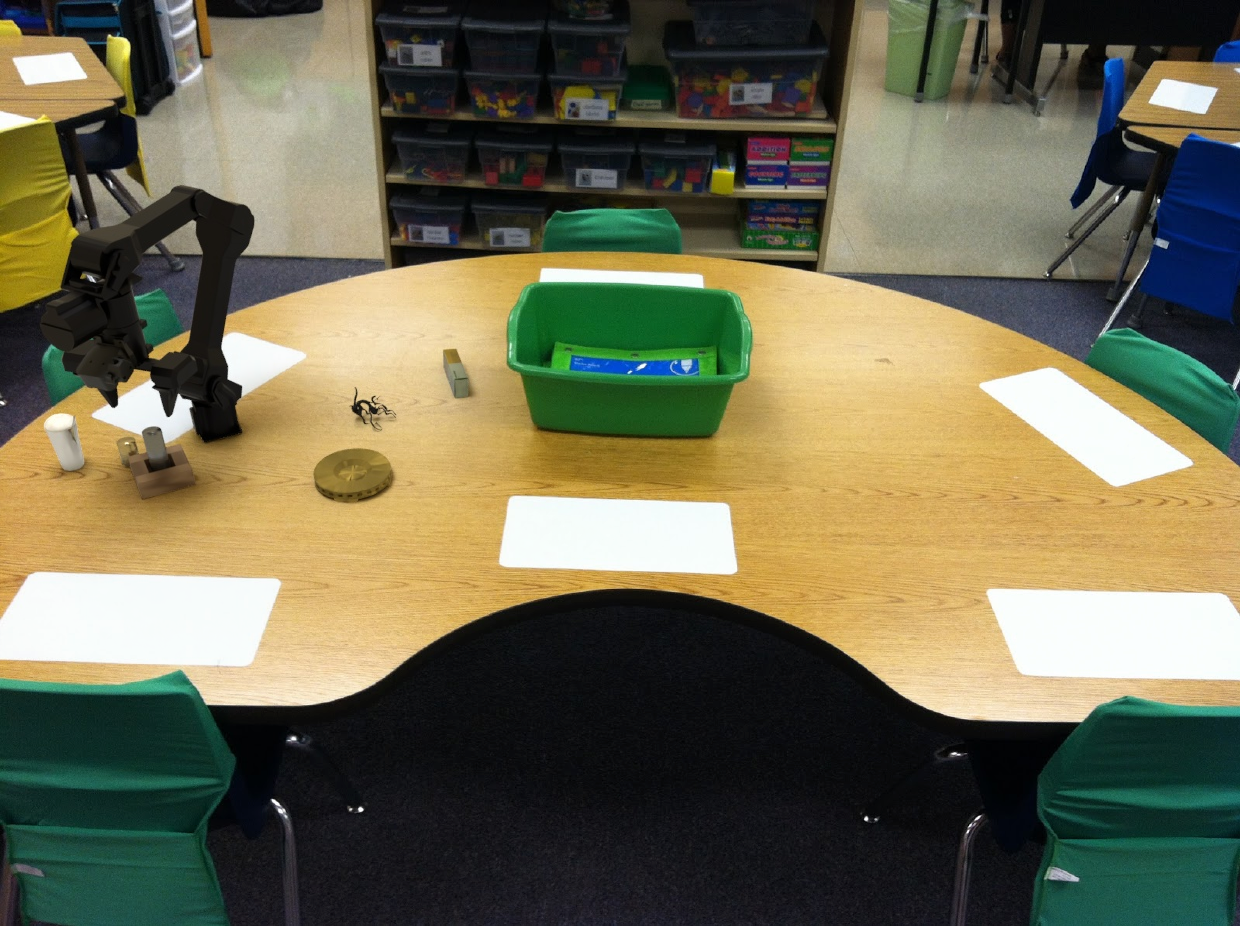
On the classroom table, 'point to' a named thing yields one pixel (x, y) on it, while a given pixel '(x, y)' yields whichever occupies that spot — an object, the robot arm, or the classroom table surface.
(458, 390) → the medication box
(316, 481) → the compass
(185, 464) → the collar
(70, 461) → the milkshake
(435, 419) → the classroom table surface
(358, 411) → the creature
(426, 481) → the classroom table surface
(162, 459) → the long pin
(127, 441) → the short pin
